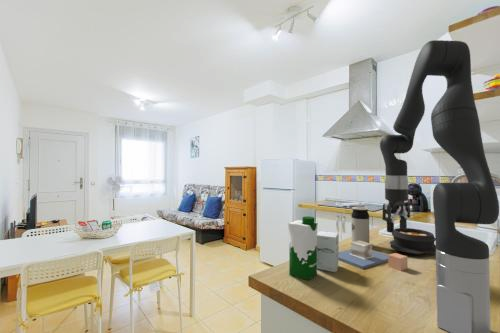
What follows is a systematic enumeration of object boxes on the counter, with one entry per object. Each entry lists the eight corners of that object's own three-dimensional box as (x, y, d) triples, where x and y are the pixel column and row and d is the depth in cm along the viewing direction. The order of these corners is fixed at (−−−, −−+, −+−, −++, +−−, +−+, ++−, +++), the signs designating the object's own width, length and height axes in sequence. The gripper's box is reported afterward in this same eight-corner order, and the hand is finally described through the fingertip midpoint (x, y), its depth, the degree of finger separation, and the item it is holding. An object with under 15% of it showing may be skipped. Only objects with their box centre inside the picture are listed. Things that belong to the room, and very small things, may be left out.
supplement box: (315, 269, 88) (314, 234, 88) (319, 262, 95) (319, 230, 95) (336, 273, 85) (336, 237, 85) (339, 265, 91) (338, 232, 91)
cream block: (364, 258, 96) (364, 246, 96) (351, 254, 101) (351, 242, 101) (371, 256, 98) (371, 244, 98) (358, 252, 103) (358, 240, 103)
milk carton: (309, 282, 77) (309, 220, 78) (285, 274, 83) (285, 217, 84) (320, 273, 84) (320, 216, 85) (297, 267, 90) (297, 213, 90)
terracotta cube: (400, 271, 87) (400, 258, 87) (388, 266, 90) (388, 254, 91) (407, 268, 89) (407, 256, 89) (395, 264, 93) (394, 252, 93)
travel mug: (367, 242, 120) (367, 207, 121) (371, 247, 113) (370, 209, 113) (350, 241, 123) (350, 206, 123) (352, 246, 115) (352, 208, 116)
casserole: (428, 262, 95) (428, 241, 95) (379, 250, 109) (379, 231, 110) (446, 249, 110) (445, 231, 111) (401, 240, 125) (400, 224, 125)
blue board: (362, 269, 88) (362, 266, 88) (330, 256, 101) (330, 253, 101) (393, 259, 98) (393, 256, 98) (360, 249, 111) (360, 246, 111)
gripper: (395, 189, 84) (396, 235, 83) (417, 187, 91) (417, 230, 90) (375, 187, 90) (375, 231, 90) (396, 186, 97) (397, 226, 97)
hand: (396, 230), depth 90 cm, fingers open, 8 cm apart
